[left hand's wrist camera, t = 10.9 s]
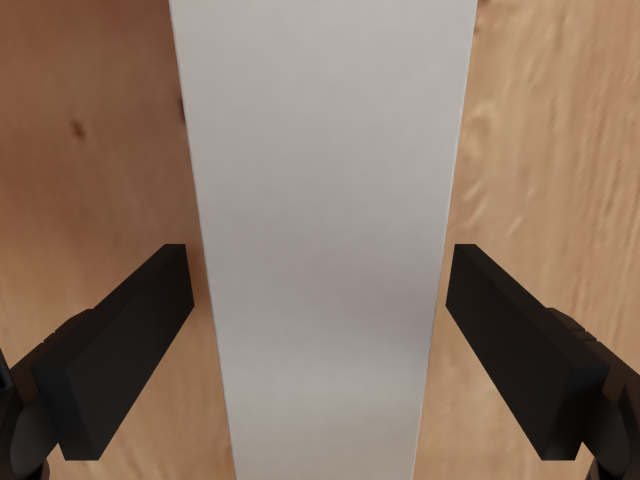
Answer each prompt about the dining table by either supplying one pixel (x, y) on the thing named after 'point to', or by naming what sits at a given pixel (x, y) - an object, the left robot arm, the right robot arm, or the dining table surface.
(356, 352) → the bar
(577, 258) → the dining table surface
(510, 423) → the dining table surface
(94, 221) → the dining table surface
